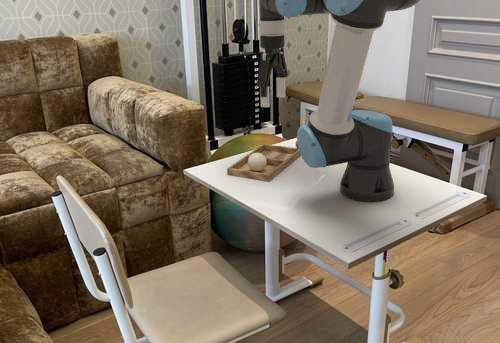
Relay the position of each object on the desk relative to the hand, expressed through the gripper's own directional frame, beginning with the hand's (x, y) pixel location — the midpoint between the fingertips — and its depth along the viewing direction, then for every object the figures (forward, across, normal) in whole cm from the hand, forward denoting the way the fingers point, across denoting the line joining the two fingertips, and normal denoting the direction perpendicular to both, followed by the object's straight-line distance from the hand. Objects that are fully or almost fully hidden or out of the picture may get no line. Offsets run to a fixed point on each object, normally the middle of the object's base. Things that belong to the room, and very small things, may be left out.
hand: (273, 101), depth 161 cm
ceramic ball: (+19, +13, -1) cm, 23 cm away
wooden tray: (+20, +6, 0) cm, 21 cm away
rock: (+21, -14, +9) cm, 27 cm away
